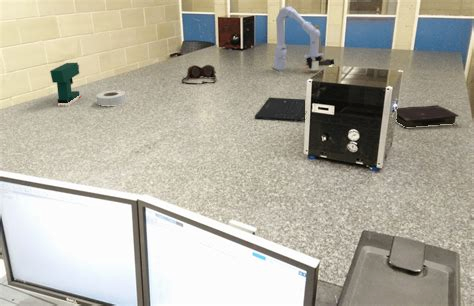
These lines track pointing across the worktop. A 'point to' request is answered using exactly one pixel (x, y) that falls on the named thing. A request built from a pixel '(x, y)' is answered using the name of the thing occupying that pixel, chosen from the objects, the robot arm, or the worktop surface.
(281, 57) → the robot arm
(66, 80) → the power tool
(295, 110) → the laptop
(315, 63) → the hollow square socket
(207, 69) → the goggles
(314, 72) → the brown rectangular board
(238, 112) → the worktop surface
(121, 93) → the roll of tape
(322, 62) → the hammer
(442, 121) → the diary
